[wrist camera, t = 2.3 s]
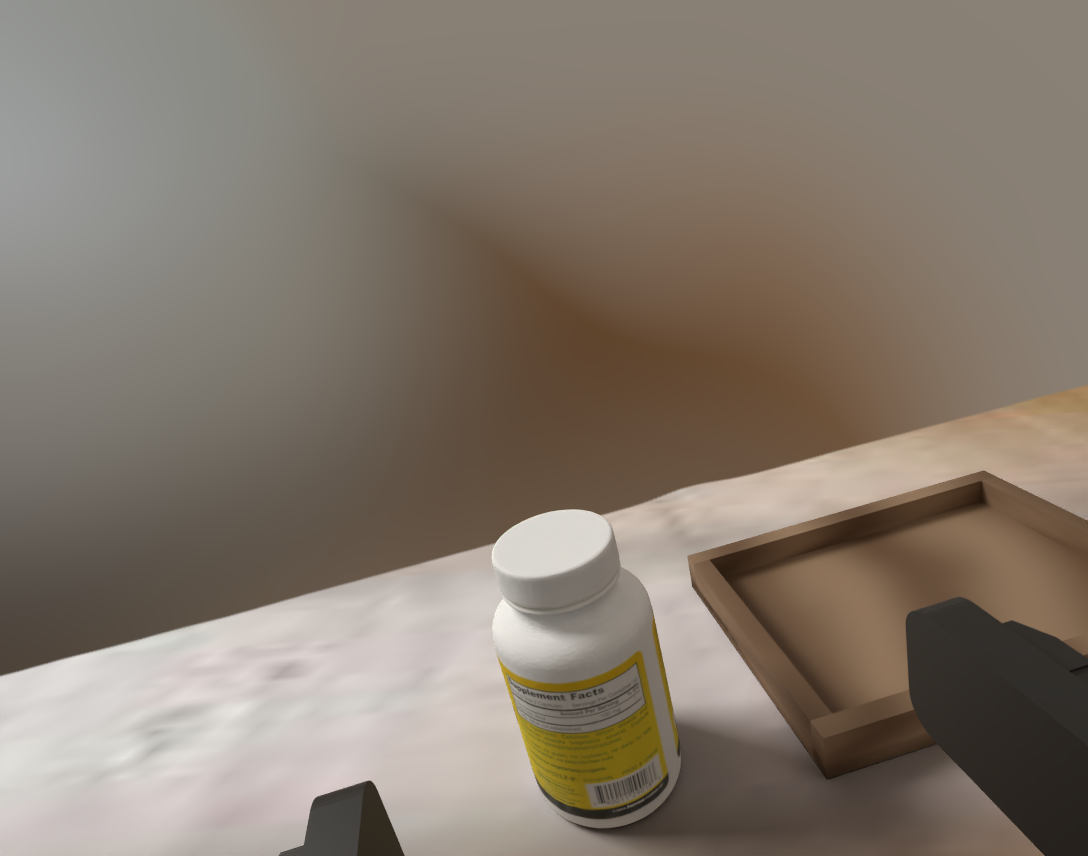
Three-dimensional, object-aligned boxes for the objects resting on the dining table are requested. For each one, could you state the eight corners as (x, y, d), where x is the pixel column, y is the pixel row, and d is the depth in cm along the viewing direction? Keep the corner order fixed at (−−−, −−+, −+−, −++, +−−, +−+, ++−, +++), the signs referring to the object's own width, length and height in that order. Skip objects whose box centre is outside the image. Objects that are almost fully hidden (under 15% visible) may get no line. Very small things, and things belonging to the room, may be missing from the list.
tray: (827, 779, 23) (823, 738, 22) (692, 586, 34) (687, 555, 33) (1245, 643, 24) (1253, 601, 23) (983, 501, 35) (983, 470, 35)
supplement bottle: (581, 697, 29) (530, 491, 25) (704, 733, 25) (666, 505, 22) (507, 802, 24) (435, 574, 21) (644, 861, 21) (585, 605, 18)
